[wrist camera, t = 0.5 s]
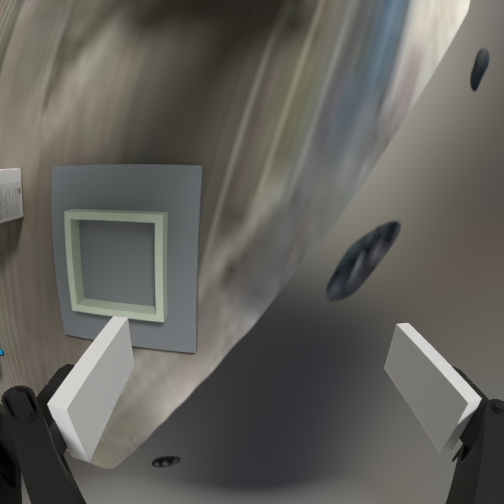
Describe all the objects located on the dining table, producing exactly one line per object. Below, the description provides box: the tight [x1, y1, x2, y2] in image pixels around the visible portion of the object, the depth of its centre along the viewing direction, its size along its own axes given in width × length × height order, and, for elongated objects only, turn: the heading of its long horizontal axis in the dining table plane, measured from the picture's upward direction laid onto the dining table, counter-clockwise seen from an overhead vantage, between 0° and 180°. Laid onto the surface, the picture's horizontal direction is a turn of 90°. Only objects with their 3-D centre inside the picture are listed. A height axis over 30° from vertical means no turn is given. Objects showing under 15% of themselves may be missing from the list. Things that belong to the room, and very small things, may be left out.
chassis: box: [51, 164, 203, 353], centre depth 39 cm, size 26×22×4 cm
